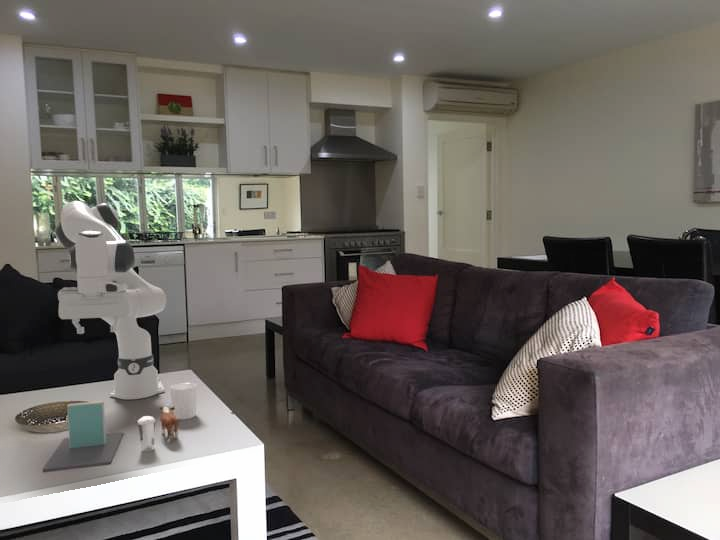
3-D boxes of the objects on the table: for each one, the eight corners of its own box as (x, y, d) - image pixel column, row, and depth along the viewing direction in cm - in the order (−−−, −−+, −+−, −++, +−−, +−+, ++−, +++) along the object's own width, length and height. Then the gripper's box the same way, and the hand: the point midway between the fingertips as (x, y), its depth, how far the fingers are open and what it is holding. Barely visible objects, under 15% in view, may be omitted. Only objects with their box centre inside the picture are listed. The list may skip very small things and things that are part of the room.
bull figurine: (174, 427, 176) (173, 401, 175) (181, 442, 164) (179, 414, 163) (159, 430, 174) (157, 403, 173) (164, 445, 162) (163, 417, 161)
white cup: (190, 421, 181) (188, 389, 181) (167, 419, 183) (165, 388, 182) (202, 412, 189) (200, 382, 188) (179, 411, 191) (178, 382, 190)
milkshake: (133, 450, 159) (131, 414, 158) (153, 445, 162) (151, 410, 161) (138, 455, 155) (136, 418, 155) (159, 449, 159) (157, 414, 158)
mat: (64, 440, 167) (64, 438, 167) (123, 434, 171) (123, 432, 171) (42, 471, 146) (42, 469, 146) (110, 463, 150) (110, 461, 150)
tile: (71, 445, 161) (68, 403, 160) (106, 442, 164) (103, 400, 163) (69, 448, 159) (67, 406, 158) (105, 444, 162) (102, 402, 161)
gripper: (52, 288, 166) (56, 336, 167) (126, 285, 168) (129, 332, 169) (61, 286, 173) (65, 332, 174) (132, 283, 174) (135, 329, 175)
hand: (97, 332), depth 171 cm, fingers open, 8 cm apart
